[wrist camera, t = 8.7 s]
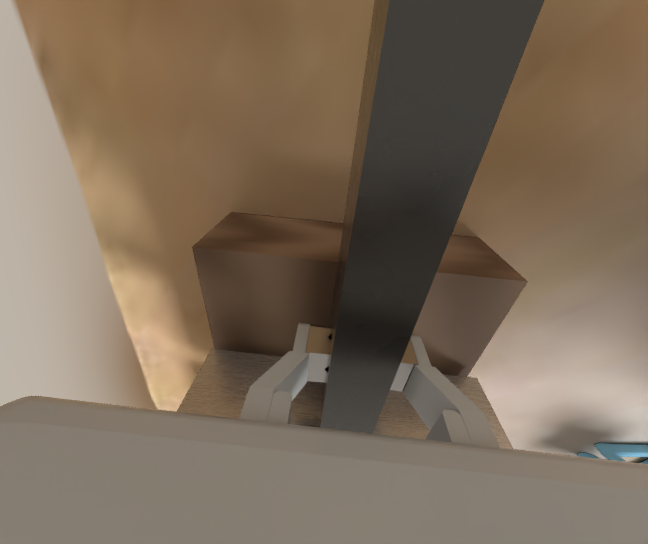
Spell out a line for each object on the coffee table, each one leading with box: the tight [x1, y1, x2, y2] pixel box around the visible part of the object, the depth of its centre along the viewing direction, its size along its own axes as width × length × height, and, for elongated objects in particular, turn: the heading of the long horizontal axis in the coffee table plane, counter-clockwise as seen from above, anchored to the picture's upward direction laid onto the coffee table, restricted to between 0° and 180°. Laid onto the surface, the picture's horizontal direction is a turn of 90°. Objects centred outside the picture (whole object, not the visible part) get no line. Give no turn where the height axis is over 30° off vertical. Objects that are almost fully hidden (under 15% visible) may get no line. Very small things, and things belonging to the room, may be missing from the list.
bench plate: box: [192, 212, 528, 377], centre depth 18 cm, size 16×16×5 cm
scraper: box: [177, 0, 544, 449], centre depth 9 cm, size 18×16×4 cm
